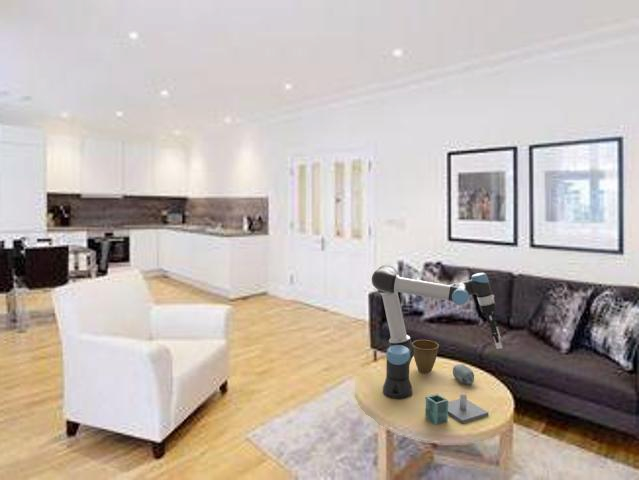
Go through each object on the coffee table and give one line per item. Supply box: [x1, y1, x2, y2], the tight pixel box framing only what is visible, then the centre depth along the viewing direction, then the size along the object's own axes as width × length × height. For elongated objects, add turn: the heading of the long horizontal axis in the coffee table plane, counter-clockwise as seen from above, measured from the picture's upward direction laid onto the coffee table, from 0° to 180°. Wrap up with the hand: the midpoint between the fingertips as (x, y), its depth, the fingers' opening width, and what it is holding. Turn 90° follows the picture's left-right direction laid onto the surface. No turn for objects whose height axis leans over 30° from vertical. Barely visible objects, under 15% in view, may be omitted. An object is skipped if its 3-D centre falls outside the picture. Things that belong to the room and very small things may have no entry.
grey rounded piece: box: [452, 363, 475, 386], centre depth 241 cm, size 14×10×10 cm
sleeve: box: [424, 393, 449, 426], centre depth 201 cm, size 7×7×10 cm
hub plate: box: [448, 392, 489, 424], centre depth 208 cm, size 16×16×9 cm
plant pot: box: [412, 339, 440, 374], centre depth 254 cm, size 15×15×16 cm
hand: (498, 343), depth 221 cm, fingers open, 13 cm apart
